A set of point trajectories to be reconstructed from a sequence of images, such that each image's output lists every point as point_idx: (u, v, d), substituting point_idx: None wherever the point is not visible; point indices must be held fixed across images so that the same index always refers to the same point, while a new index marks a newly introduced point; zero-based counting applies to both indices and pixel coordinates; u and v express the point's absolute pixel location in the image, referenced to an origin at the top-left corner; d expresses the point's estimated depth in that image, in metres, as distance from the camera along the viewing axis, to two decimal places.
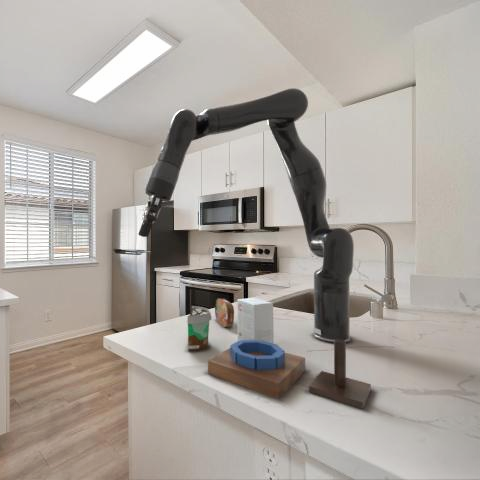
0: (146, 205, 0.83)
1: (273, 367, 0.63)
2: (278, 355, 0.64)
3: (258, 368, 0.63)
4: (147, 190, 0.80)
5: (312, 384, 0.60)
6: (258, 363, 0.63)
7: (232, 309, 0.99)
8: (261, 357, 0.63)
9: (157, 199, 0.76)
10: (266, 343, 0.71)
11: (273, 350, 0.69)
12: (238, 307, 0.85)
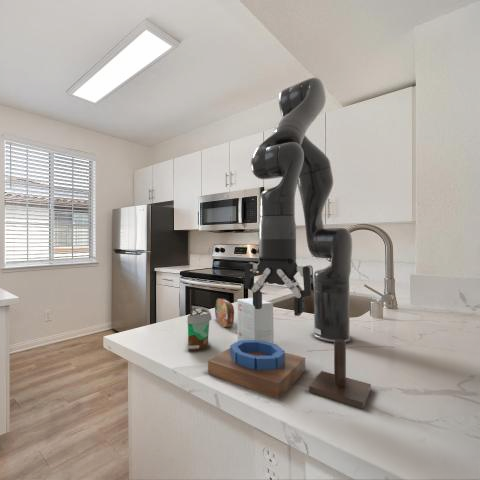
0: (269, 273, 0.64)
1: (273, 367, 0.63)
2: (278, 355, 0.64)
3: (258, 368, 0.63)
4: (280, 258, 0.61)
5: (312, 384, 0.60)
6: (258, 363, 0.63)
7: (232, 309, 0.99)
8: (261, 357, 0.63)
9: (310, 268, 0.60)
10: (266, 343, 0.71)
11: (273, 350, 0.69)
12: (238, 307, 0.85)
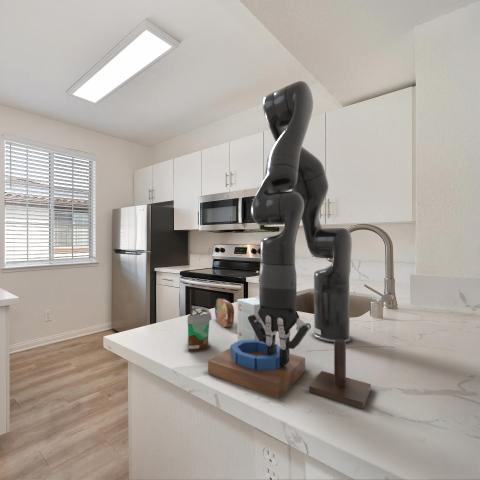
0: (271, 320, 0.64)
1: (273, 367, 0.63)
2: (278, 355, 0.64)
3: (258, 368, 0.63)
4: (280, 307, 0.61)
5: (312, 384, 0.60)
6: (258, 363, 0.63)
7: (232, 309, 0.99)
8: (261, 357, 0.63)
9: (308, 329, 0.61)
10: None
11: None
12: (238, 307, 0.85)
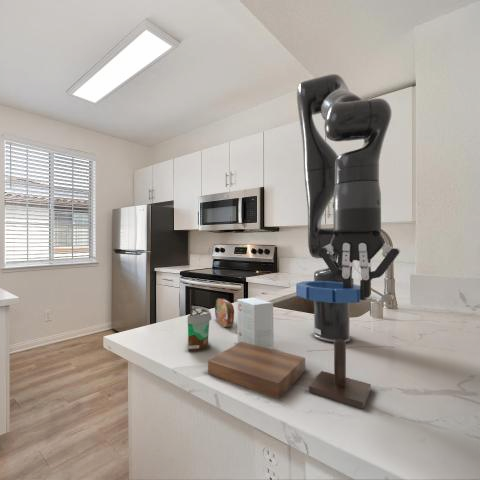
0: (350, 247, 0.56)
1: (354, 300, 0.54)
2: (358, 288, 0.56)
3: (337, 301, 0.54)
4: (365, 229, 0.53)
5: (312, 384, 0.60)
6: (337, 295, 0.54)
7: (232, 309, 0.99)
8: (339, 289, 0.55)
9: (398, 253, 0.52)
10: (336, 282, 0.63)
11: None
12: (238, 307, 0.85)
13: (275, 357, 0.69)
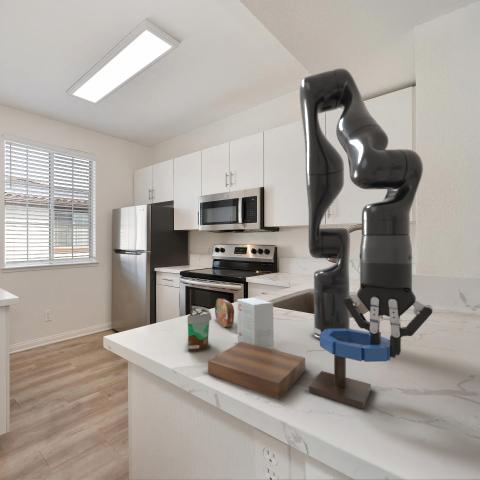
0: (379, 302, 0.54)
1: (384, 358, 0.52)
2: (387, 344, 0.54)
3: (366, 359, 0.52)
4: (396, 286, 0.51)
5: (312, 384, 0.60)
6: (366, 353, 0.52)
7: (232, 309, 0.99)
8: (369, 346, 0.53)
9: (431, 311, 0.50)
10: (360, 332, 0.61)
11: None
12: (238, 307, 0.85)
13: (275, 357, 0.69)
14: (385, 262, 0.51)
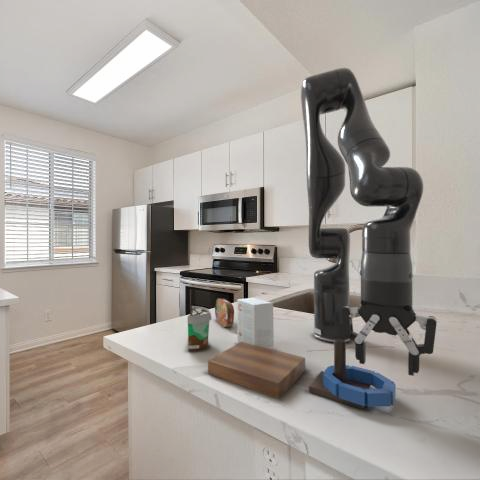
0: (378, 320, 0.54)
1: (388, 403, 0.52)
2: (390, 387, 0.54)
3: (370, 405, 0.52)
4: (397, 305, 0.51)
5: (312, 384, 0.60)
6: (370, 399, 0.52)
7: (232, 309, 0.99)
8: (372, 391, 0.53)
9: None
10: (363, 370, 0.61)
11: (376, 380, 0.58)
12: (238, 307, 0.85)
13: (275, 357, 0.69)
14: (386, 280, 0.51)
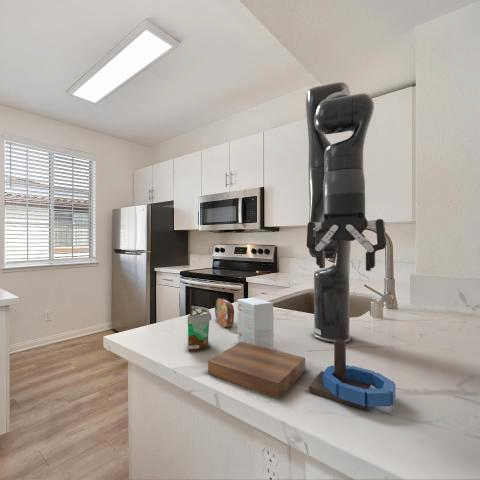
0: (336, 230, 0.63)
1: (388, 403, 0.52)
2: (390, 387, 0.54)
3: (370, 405, 0.52)
4: (351, 212, 0.60)
5: (312, 384, 0.60)
6: (370, 399, 0.52)
7: (232, 309, 0.99)
8: (372, 391, 0.53)
9: (383, 221, 0.59)
10: (363, 370, 0.61)
11: (376, 380, 0.58)
12: (238, 307, 0.85)
13: (275, 357, 0.69)
14: (342, 192, 0.60)
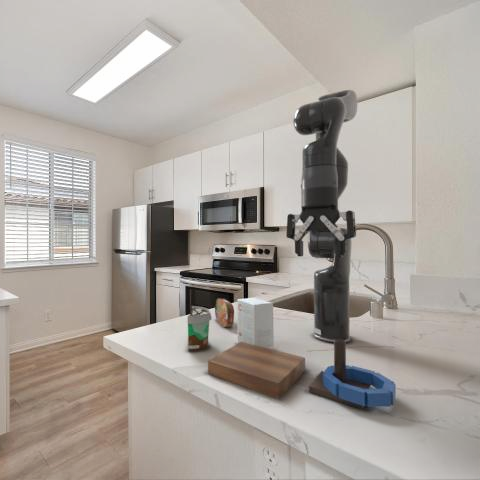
0: (312, 220, 0.69)
1: (388, 403, 0.52)
2: (390, 387, 0.54)
3: (370, 405, 0.52)
4: (324, 204, 0.66)
5: (312, 384, 0.60)
6: (370, 399, 0.52)
7: (232, 309, 0.99)
8: (372, 391, 0.53)
9: (353, 212, 0.65)
10: (363, 370, 0.61)
11: (376, 380, 0.58)
12: (238, 307, 0.85)
13: (275, 357, 0.69)
14: (316, 186, 0.67)
